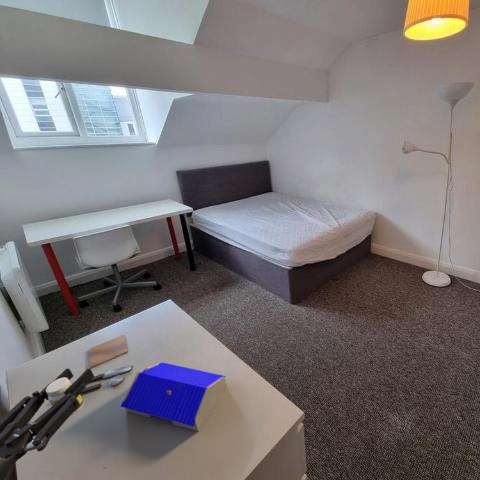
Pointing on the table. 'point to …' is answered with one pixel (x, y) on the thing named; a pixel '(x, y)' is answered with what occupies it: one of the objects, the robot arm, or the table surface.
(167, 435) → the table surface
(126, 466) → the table surface
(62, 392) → the supplement bottle
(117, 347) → the cork coaster
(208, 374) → the roof
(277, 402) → the table surface
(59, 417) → the robot arm
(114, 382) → the cutlery
